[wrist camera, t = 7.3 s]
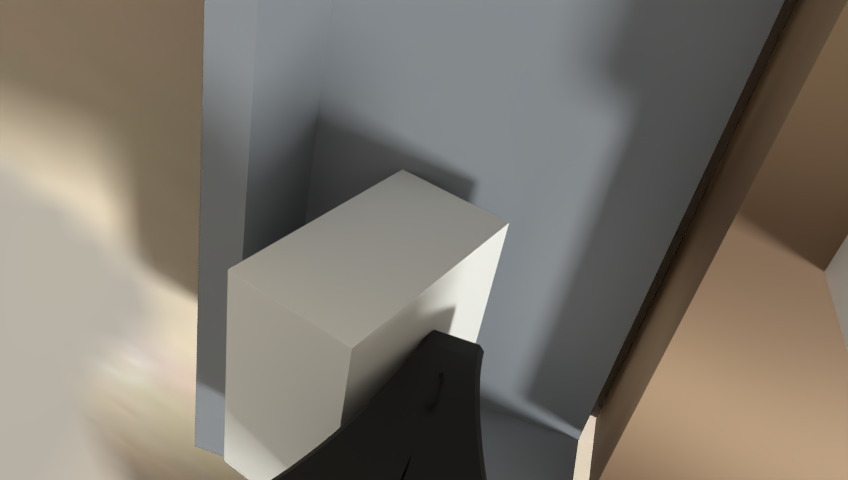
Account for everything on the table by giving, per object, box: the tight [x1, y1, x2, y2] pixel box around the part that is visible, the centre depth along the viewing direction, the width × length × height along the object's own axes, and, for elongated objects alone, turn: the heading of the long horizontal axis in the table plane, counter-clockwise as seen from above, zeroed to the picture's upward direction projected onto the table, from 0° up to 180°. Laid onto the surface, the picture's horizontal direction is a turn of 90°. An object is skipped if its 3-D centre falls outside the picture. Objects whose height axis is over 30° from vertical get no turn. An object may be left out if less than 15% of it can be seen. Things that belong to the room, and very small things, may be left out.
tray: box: [195, 0, 785, 480], centre depth 13 cm, size 14×8×4 cm, turn 169°
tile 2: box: [224, 170, 509, 480], centre depth 14 cm, size 4×4×2 cm
